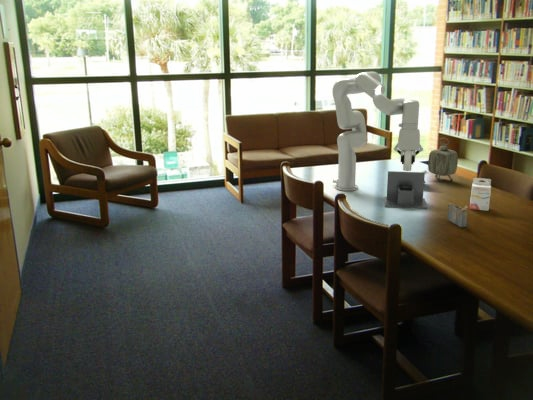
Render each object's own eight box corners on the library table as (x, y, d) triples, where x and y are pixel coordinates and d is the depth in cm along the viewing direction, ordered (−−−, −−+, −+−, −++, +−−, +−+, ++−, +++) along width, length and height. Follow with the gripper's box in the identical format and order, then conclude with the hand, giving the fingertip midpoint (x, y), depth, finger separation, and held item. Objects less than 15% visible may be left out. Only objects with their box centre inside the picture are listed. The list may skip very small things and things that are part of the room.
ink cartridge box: (469, 209, 259) (472, 179, 255) (469, 206, 264) (472, 177, 260) (488, 210, 257) (492, 181, 252) (488, 208, 261) (491, 178, 257)
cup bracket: (384, 198, 279) (385, 170, 275) (424, 200, 275) (426, 171, 271) (384, 207, 265) (386, 177, 261) (426, 208, 261) (428, 179, 257)
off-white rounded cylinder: (401, 170, 263) (402, 146, 260) (405, 168, 266) (406, 144, 263) (408, 171, 261) (410, 146, 257) (412, 169, 264) (414, 145, 260)
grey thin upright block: (467, 227, 236) (469, 206, 233) (460, 228, 235) (462, 206, 232) (453, 219, 246) (454, 199, 244) (447, 220, 246) (448, 199, 243)
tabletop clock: (456, 181, 310) (459, 138, 303) (445, 183, 306) (449, 140, 298) (435, 176, 322) (438, 135, 315) (425, 178, 317) (428, 137, 310)
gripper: (392, 127, 256) (390, 164, 261) (428, 127, 252) (425, 165, 257) (391, 125, 263) (389, 161, 268) (427, 125, 259) (424, 162, 264)
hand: (407, 163), depth 263 cm, fingers closed on off-white rounded cylinder, 4 cm apart
